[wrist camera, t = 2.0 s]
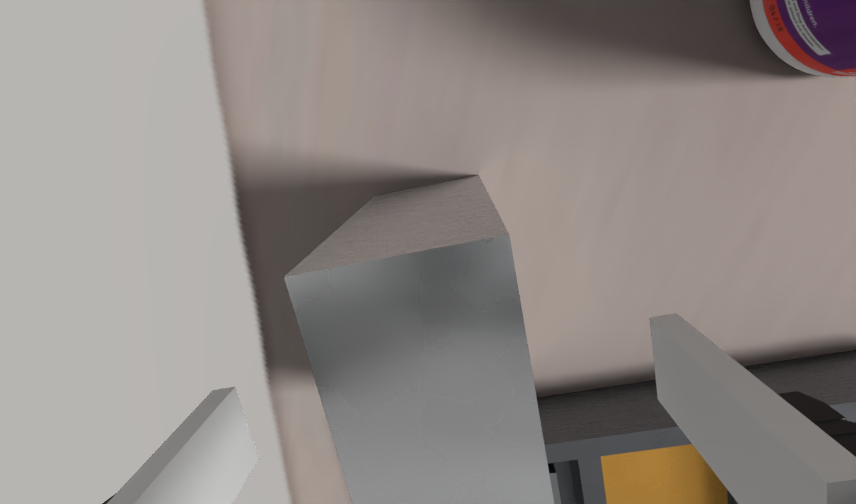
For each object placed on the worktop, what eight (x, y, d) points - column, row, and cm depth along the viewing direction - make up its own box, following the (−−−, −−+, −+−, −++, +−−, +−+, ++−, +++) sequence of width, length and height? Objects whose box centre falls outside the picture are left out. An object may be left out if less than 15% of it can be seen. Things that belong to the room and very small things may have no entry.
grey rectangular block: (374, 196, 22) (283, 276, 10) (478, 175, 21) (508, 234, 10) (418, 381, 24) (386, 615, 13) (513, 366, 24) (569, 596, 12)
